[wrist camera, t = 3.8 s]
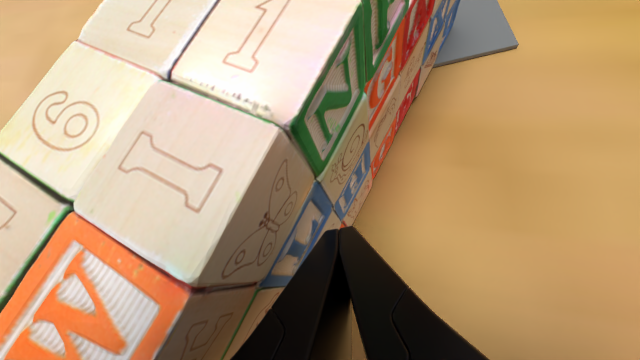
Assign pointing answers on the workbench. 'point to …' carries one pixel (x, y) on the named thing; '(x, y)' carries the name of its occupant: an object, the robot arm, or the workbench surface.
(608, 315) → the workbench surface
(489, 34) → the mat
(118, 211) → the stack of blocks
